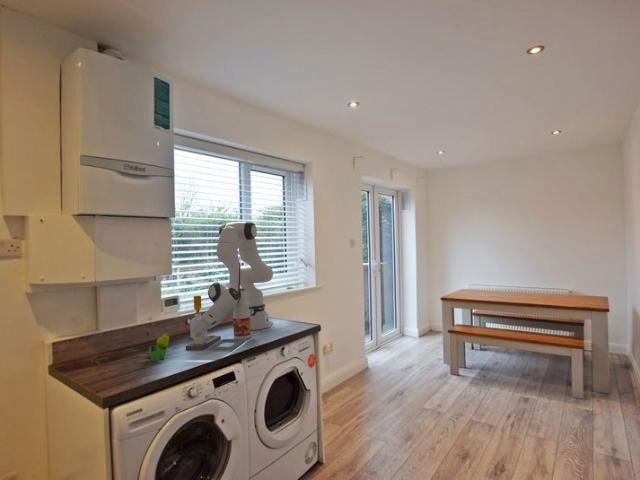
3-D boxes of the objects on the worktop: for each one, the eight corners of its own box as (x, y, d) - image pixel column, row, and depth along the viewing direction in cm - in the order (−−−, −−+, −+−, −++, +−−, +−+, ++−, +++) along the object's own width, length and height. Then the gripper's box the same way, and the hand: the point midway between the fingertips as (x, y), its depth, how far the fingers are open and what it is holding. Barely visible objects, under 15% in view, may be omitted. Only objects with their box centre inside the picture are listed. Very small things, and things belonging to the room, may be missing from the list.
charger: (198, 345, 190) (197, 326, 191) (206, 345, 190) (205, 326, 190) (194, 347, 186) (193, 328, 186) (202, 347, 185) (201, 328, 185)
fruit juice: (254, 337, 207) (252, 287, 207) (246, 341, 198) (243, 289, 198) (239, 336, 210) (237, 287, 210) (230, 340, 201) (228, 289, 201)
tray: (222, 343, 196) (222, 338, 196) (243, 343, 194) (243, 338, 194) (208, 352, 181) (208, 347, 181) (230, 352, 178) (230, 347, 178)
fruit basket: (150, 356, 178) (149, 333, 178) (170, 353, 181) (169, 330, 182) (148, 363, 168) (147, 338, 168) (169, 360, 171) (168, 336, 171)
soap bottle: (190, 341, 204) (188, 297, 204) (191, 337, 213) (189, 295, 213) (207, 339, 207) (205, 295, 207) (207, 335, 216) (205, 293, 216)
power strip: (205, 341, 203) (205, 334, 203) (221, 341, 201) (220, 334, 201) (185, 352, 183) (185, 344, 183) (202, 352, 181) (202, 344, 181)
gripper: (220, 307, 197) (204, 325, 199) (200, 314, 177) (183, 335, 179) (228, 315, 196) (212, 333, 198) (209, 324, 176) (192, 344, 178)
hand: (198, 334), depth 188 cm, fingers closed on charger, 4 cm apart
